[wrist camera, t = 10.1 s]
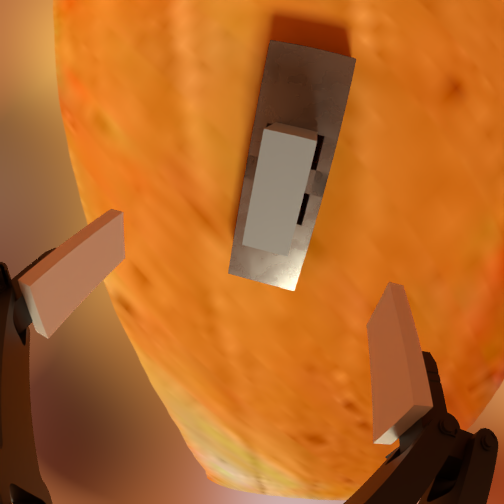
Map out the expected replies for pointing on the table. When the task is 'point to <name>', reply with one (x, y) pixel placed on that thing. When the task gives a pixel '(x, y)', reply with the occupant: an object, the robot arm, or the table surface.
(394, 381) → the robot arm
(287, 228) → the upright grey box
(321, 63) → the block with rectangular hole
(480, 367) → the table surface
